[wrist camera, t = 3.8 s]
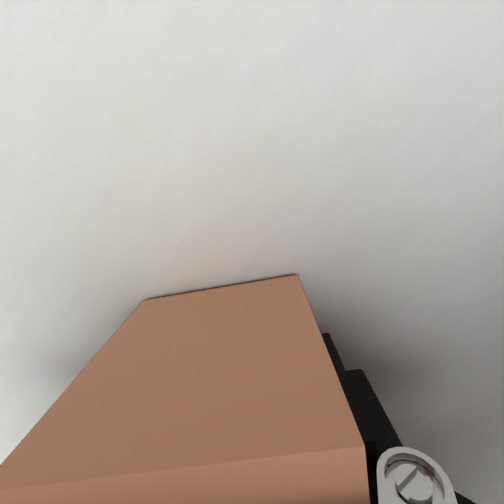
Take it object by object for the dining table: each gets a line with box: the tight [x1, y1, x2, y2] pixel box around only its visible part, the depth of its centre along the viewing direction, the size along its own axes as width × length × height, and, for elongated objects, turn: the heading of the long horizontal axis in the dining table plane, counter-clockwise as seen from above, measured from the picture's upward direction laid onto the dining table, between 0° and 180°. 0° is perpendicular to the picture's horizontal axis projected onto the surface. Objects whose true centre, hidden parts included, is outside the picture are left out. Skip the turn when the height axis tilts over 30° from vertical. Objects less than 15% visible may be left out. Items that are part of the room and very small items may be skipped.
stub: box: [0, 275, 370, 504], centre depth 8 cm, size 7×6×6 cm
